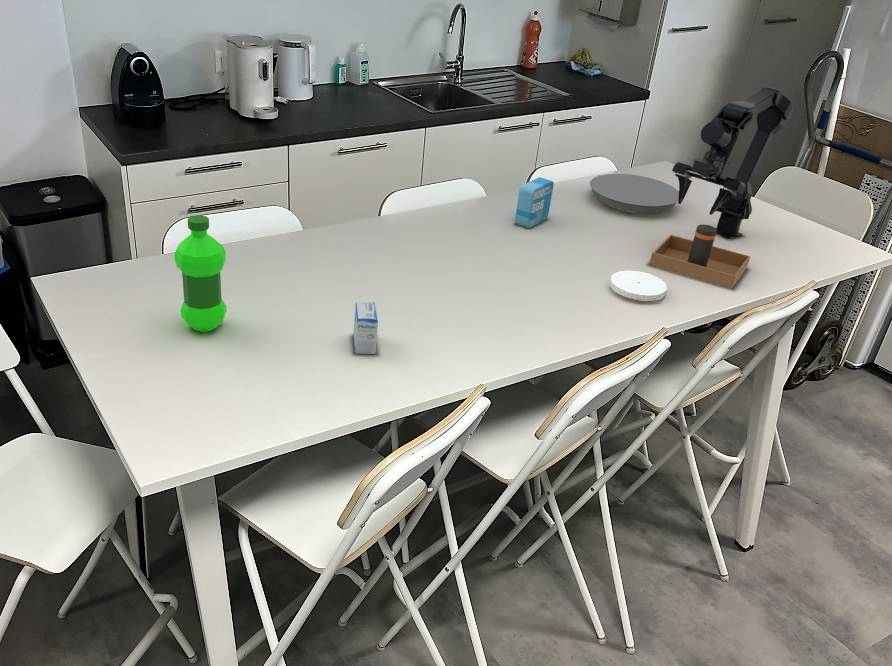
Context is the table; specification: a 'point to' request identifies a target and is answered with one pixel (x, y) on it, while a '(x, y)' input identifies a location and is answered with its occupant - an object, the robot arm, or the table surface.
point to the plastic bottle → (201, 276)
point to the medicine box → (365, 328)
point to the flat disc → (634, 193)
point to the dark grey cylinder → (702, 245)
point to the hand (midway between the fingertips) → (694, 209)
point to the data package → (534, 202)
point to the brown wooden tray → (719, 268)
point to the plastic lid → (638, 285)
